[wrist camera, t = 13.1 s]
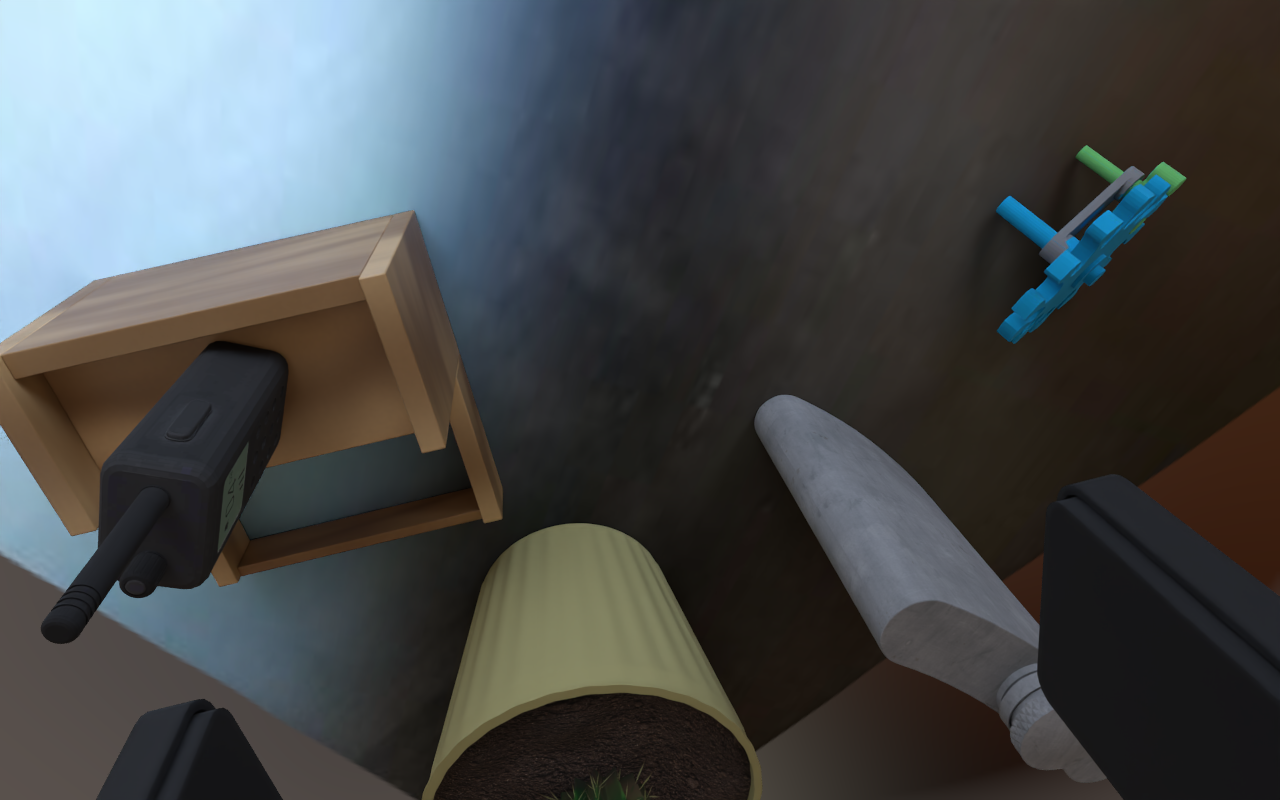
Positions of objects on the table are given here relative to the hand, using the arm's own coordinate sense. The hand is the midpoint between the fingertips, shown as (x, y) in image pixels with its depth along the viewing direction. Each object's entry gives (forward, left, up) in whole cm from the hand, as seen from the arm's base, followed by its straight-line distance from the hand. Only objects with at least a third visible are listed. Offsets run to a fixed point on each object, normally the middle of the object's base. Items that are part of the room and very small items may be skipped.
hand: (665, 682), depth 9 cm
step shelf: (+9, -14, -32) cm, 36 cm away
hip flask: (+21, +14, -32) cm, 41 cm away
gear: (+9, +25, -32) cm, 42 cm away
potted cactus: (+25, -4, -32) cm, 41 cm away
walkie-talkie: (+5, -14, -24) cm, 29 cm away
